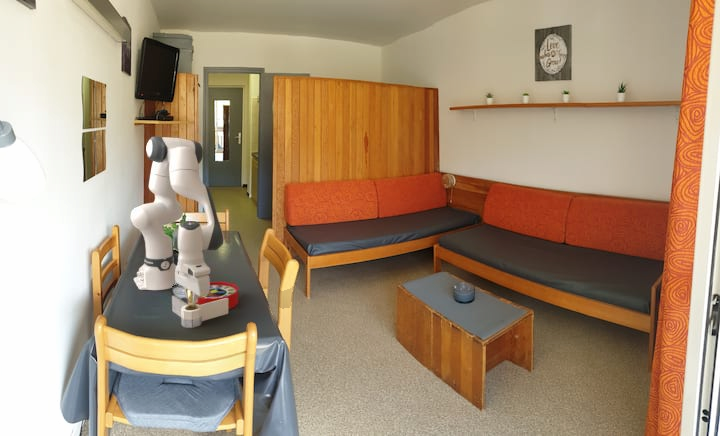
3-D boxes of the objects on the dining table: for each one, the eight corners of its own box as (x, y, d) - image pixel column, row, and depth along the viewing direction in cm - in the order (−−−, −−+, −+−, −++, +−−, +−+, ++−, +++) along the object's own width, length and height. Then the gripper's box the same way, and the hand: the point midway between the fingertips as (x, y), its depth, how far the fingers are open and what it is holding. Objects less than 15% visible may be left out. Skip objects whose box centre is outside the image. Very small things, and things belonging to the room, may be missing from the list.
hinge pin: (186, 308, 172) (185, 288, 170) (194, 306, 174) (193, 286, 172) (190, 311, 170) (189, 291, 168) (197, 309, 172) (197, 289, 170)
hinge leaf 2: (178, 323, 173) (178, 307, 171) (223, 310, 186) (223, 295, 185) (187, 329, 168) (186, 313, 167) (232, 315, 182) (232, 300, 180)
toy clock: (181, 297, 183) (198, 280, 202) (181, 311, 184) (198, 293, 203) (231, 300, 183) (243, 282, 203) (231, 313, 184) (243, 295, 204)
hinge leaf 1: (165, 313, 181) (164, 297, 179) (182, 308, 186) (181, 293, 184) (187, 329, 168) (186, 313, 167) (204, 324, 173) (204, 308, 172)
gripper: (170, 260, 173) (171, 294, 176) (196, 274, 159) (197, 310, 162) (185, 257, 177) (186, 290, 180) (212, 270, 164) (213, 306, 167)
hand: (192, 300), depth 171 cm, fingers closed on hinge pin, 3 cm apart
